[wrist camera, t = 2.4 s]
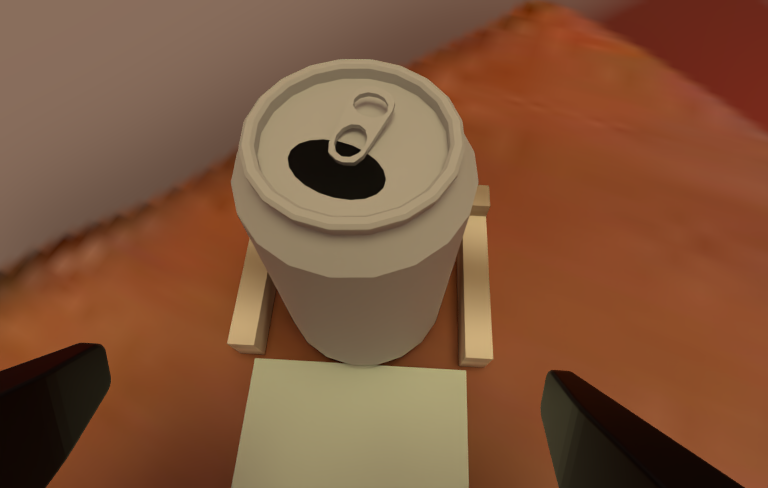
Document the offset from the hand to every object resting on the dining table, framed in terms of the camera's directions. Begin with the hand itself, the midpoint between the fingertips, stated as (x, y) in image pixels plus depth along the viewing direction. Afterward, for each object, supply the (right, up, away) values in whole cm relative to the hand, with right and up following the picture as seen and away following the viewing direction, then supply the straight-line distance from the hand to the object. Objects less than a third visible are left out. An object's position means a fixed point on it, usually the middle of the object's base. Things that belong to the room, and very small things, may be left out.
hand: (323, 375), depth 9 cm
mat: (0, -8, +10) cm, 13 cm away
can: (0, 0, +14) cm, 14 cm away
